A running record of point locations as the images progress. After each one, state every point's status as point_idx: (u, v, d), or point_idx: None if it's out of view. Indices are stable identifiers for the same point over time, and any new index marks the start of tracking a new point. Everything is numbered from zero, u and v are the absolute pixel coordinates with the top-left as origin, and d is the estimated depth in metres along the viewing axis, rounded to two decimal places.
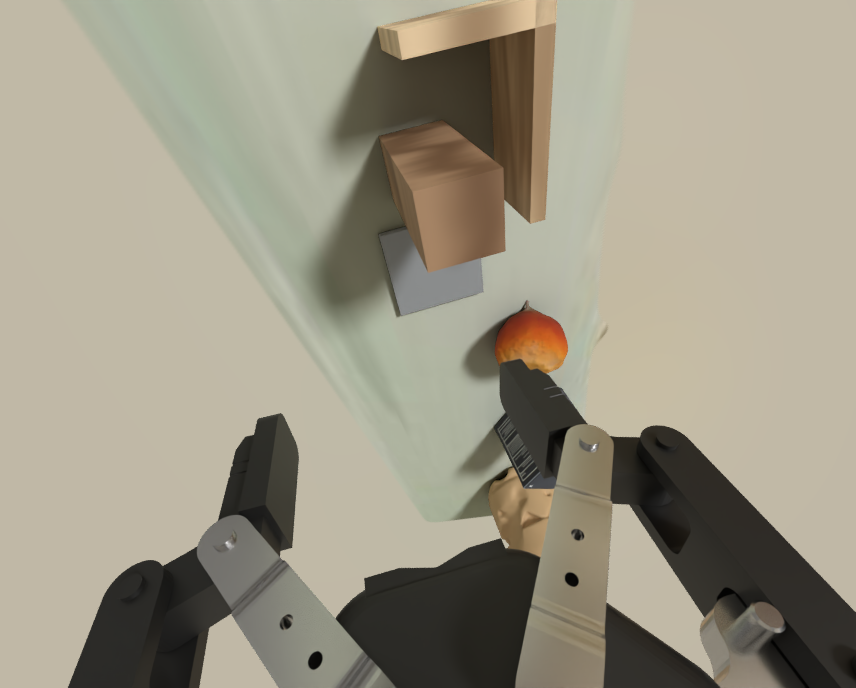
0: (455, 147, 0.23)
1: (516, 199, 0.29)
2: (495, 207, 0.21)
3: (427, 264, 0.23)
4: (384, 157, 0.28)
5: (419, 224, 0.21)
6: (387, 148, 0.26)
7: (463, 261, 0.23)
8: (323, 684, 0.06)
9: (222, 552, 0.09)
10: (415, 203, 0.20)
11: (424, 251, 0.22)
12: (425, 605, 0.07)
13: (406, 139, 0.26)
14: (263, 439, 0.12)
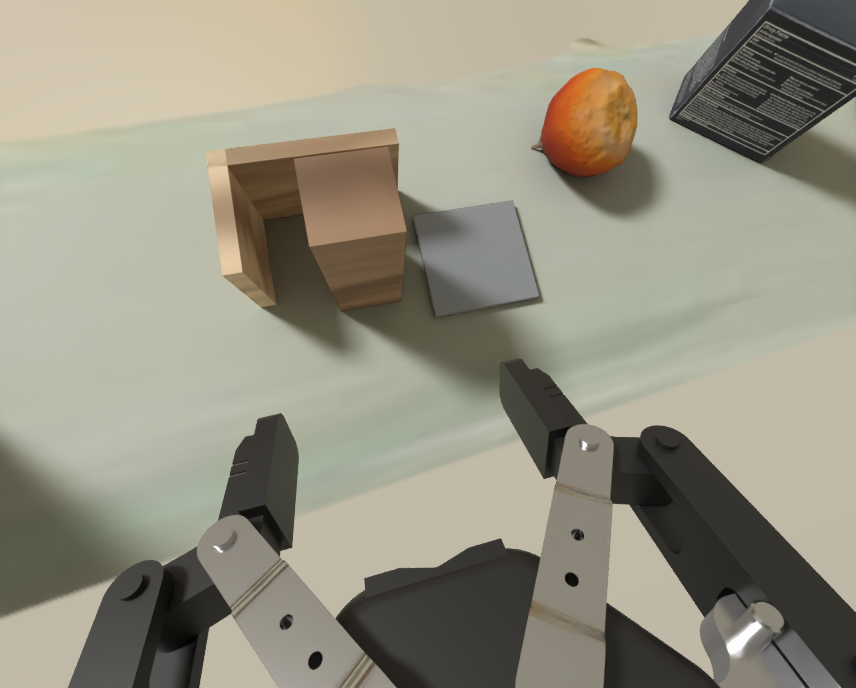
0: None
1: None
2: (334, 162, 0.20)
3: (395, 232, 0.19)
4: (356, 305, 0.30)
5: (345, 240, 0.19)
6: (334, 296, 0.27)
7: (396, 192, 0.20)
8: (322, 685, 0.06)
9: (222, 552, 0.09)
10: (322, 244, 0.19)
11: (379, 235, 0.19)
12: (425, 605, 0.07)
13: None
14: (263, 439, 0.12)
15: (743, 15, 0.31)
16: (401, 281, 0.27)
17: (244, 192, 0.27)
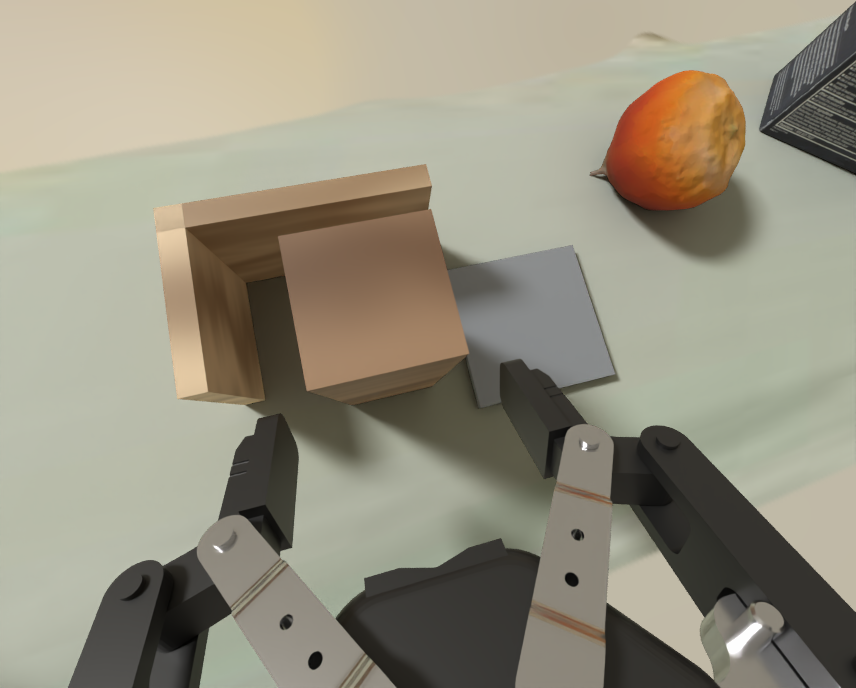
0: None
1: None
2: (345, 239, 0.12)
3: (451, 355, 0.12)
4: (373, 399, 0.22)
5: (368, 375, 0.11)
6: (344, 401, 0.19)
7: (448, 285, 0.12)
8: (323, 685, 0.06)
9: (222, 552, 0.09)
10: (328, 384, 0.11)
11: (423, 362, 0.12)
12: (425, 605, 0.07)
13: None
14: (263, 439, 0.12)
15: None
16: (439, 379, 0.19)
17: (215, 257, 0.20)
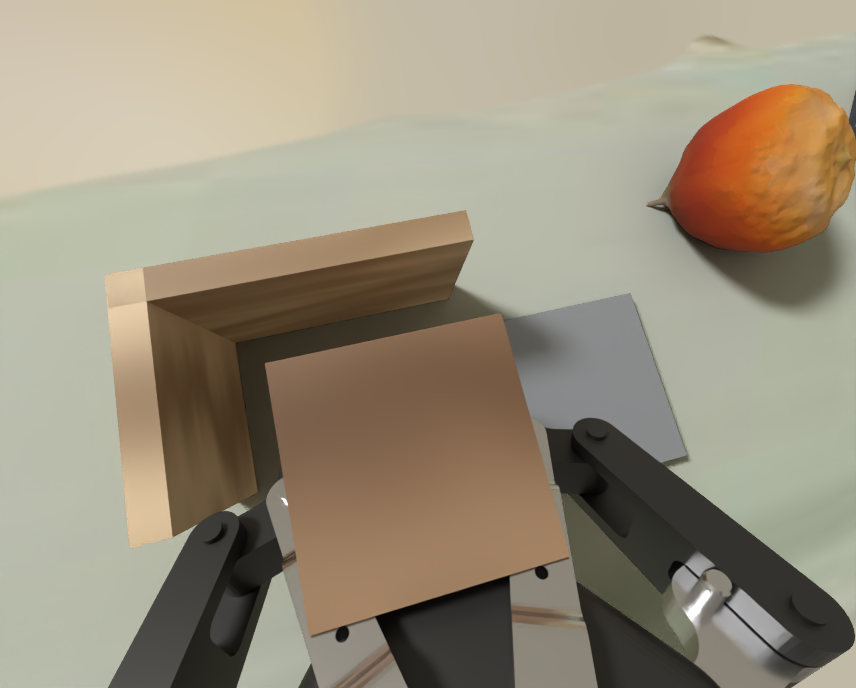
0: None
1: (442, 270, 0.16)
2: (370, 365, 0.08)
3: (540, 561, 0.07)
4: None
5: (409, 601, 0.07)
6: None
7: (531, 439, 0.08)
8: (344, 660, 0.06)
9: None
10: (345, 621, 0.07)
11: (497, 574, 0.07)
12: (425, 605, 0.07)
13: None
14: None
15: None
16: None
17: (192, 325, 0.15)
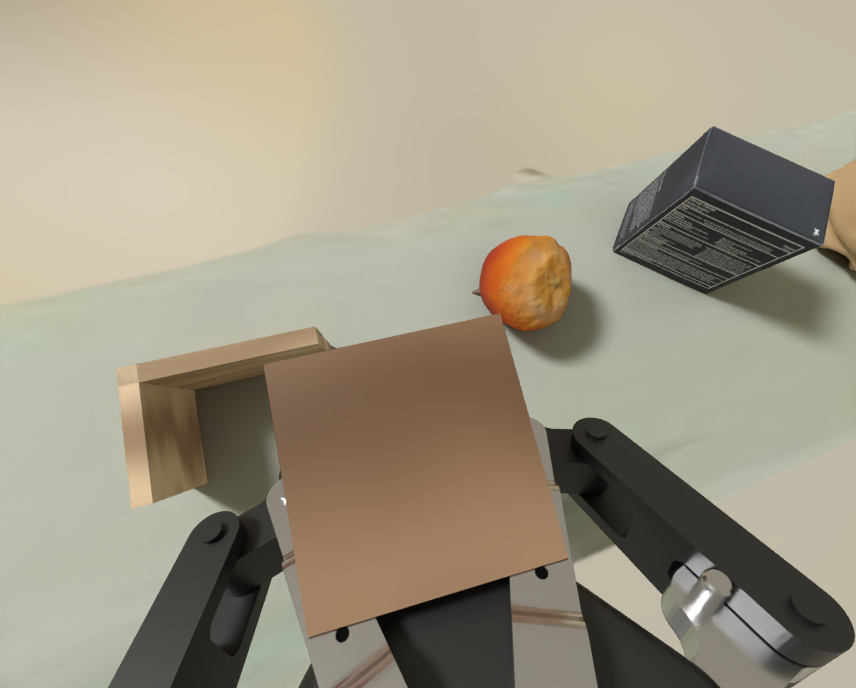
0: None
1: (312, 352, 0.28)
2: (369, 366, 0.08)
3: (539, 562, 0.07)
4: None
5: (408, 603, 0.07)
6: None
7: (530, 440, 0.08)
8: (344, 660, 0.06)
9: None
10: (343, 622, 0.07)
11: (496, 575, 0.07)
12: (425, 605, 0.07)
13: None
14: None
15: (675, 173, 0.31)
16: None
17: (165, 387, 0.27)
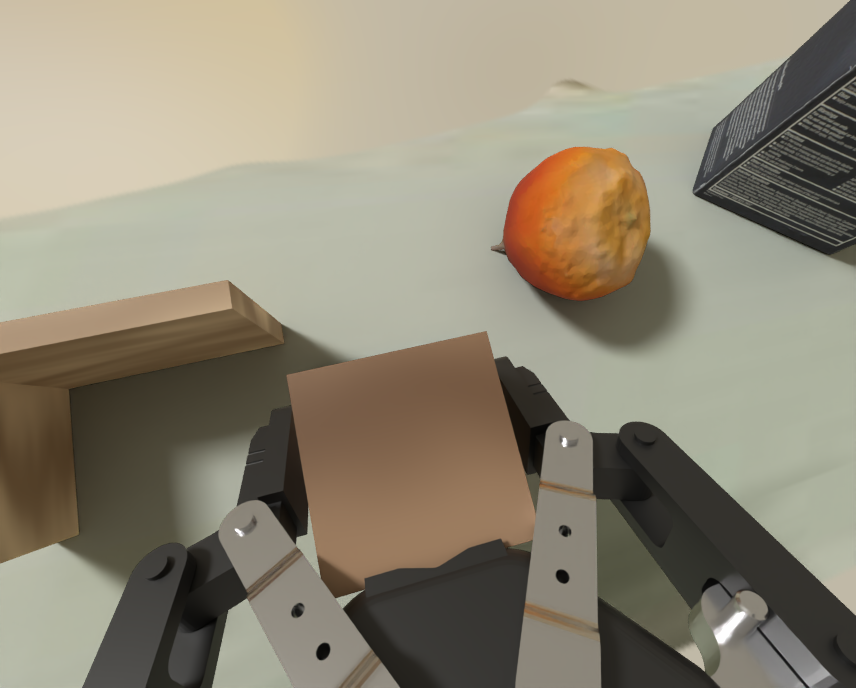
0: None
1: (235, 328, 0.17)
2: (375, 377, 0.09)
3: (517, 541, 0.09)
4: None
5: None
6: None
7: (511, 439, 0.09)
8: (329, 676, 0.06)
9: (243, 535, 0.09)
10: (354, 589, 0.08)
11: None
12: (425, 605, 0.07)
13: None
14: (278, 429, 0.12)
15: (814, 52, 0.20)
16: None
17: None
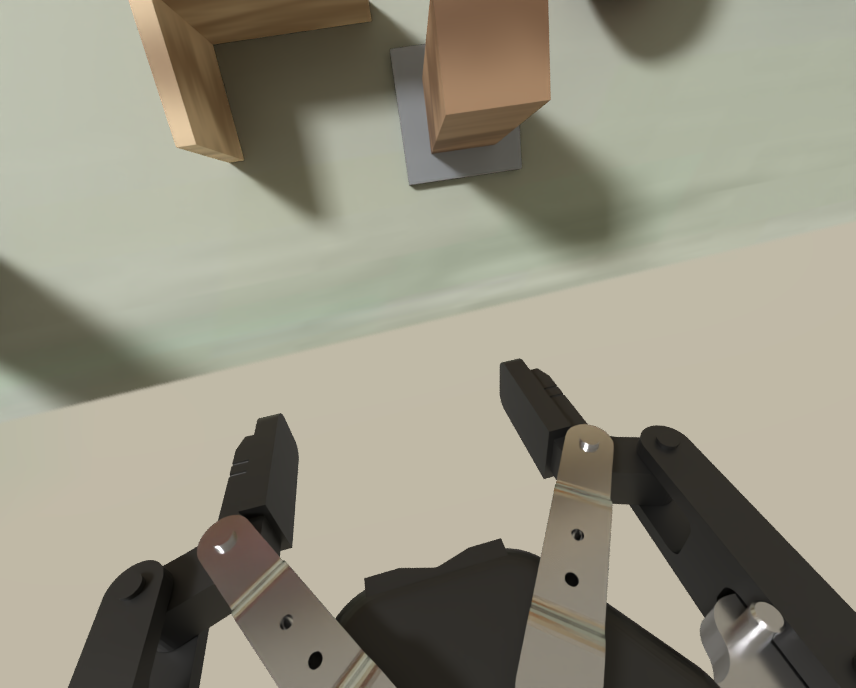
0: (429, 59, 0.21)
1: None
2: None
3: (538, 99, 0.18)
4: (449, 149, 0.28)
5: (484, 108, 0.18)
6: (434, 144, 0.26)
7: (546, 42, 0.17)
8: (323, 685, 0.06)
9: (222, 552, 0.09)
10: (459, 111, 0.18)
11: (519, 103, 0.18)
12: (425, 605, 0.07)
13: (430, 122, 0.26)
14: (263, 439, 0.12)
15: None
16: (508, 132, 0.25)
17: (180, 18, 0.23)
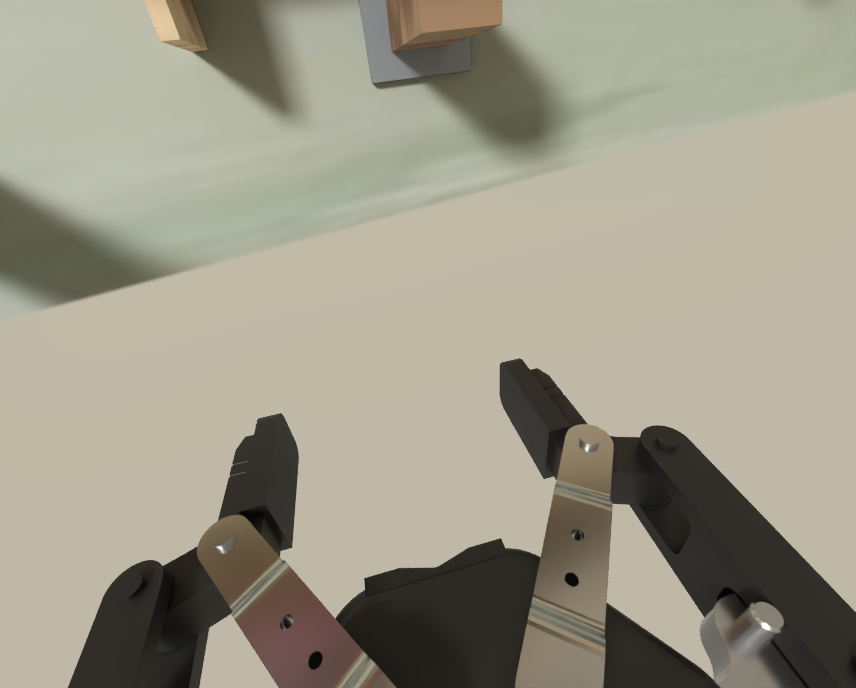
0: None
1: None
2: None
3: (493, 23, 0.22)
4: (408, 49, 0.31)
5: (451, 28, 0.22)
6: (398, 46, 0.29)
7: None
8: (323, 685, 0.06)
9: (222, 552, 0.09)
10: (431, 31, 0.22)
11: (478, 25, 0.22)
12: (425, 605, 0.07)
13: (393, 21, 0.29)
14: (263, 439, 0.12)
15: None
16: (463, 39, 0.29)
17: None
